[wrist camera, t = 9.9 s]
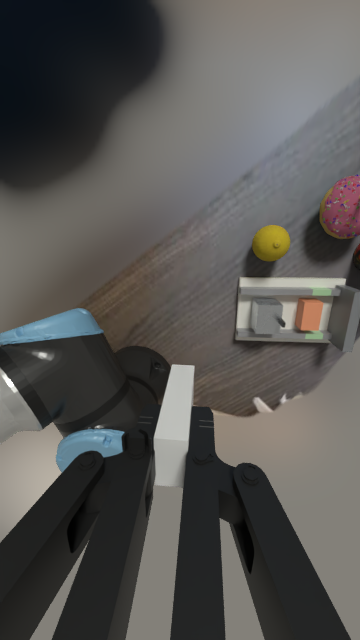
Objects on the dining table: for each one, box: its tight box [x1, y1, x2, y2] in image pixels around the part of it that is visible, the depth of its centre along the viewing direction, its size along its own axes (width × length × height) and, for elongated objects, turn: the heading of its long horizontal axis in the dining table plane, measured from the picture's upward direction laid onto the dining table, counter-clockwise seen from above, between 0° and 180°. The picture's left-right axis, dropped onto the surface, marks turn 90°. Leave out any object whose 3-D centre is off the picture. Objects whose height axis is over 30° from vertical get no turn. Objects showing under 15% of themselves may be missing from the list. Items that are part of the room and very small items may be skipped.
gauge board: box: [235, 277, 360, 352], centre depth 44 cm, size 18×12×7 cm, turn 90°
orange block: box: [295, 298, 323, 331], centre depth 45 cm, size 3×5×3 cm, turn 0°
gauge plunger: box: [250, 298, 286, 334], centre depth 43 cm, size 4×5×7 cm
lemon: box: [252, 225, 290, 261], centre depth 40 cm, size 6×6×8 cm
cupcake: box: [320, 175, 360, 239], centre depth 36 cm, size 9×8×12 cm
